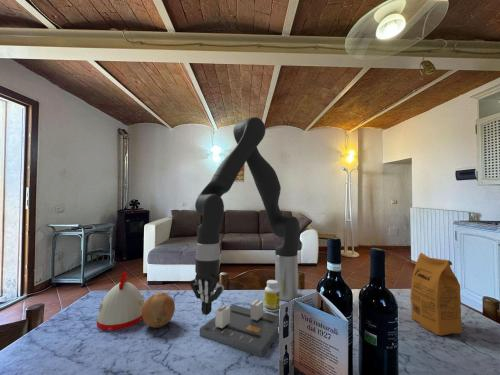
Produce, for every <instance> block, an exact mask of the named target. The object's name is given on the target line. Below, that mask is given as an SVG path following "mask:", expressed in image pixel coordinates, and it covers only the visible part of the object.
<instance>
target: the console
mask: <svg viewBox="0 0 500 375" xmlns="http://www.w3.org/2000/svg"><path fill="white" fill-rule="evenodd" d="M229 307H230V322H229V323H228V324H227V325H226V326H225V327H223V328H219V327H216V326H215V317H213V318H212V319H210V320H209V321H208V322H206V323H205V324H203V325H202V326H201V327H200V328H199V336H200V337H203V338H206V339H209V340H212V341H214V342H217V343H220V344H223V345H225V346H229V347H230V348H233V349H237V350H240V351H242V352H246V353H248V354H251V355H252V356H253V355H254V356H257V357H260V358H262V357H263V356H264V355H265V354H266V352H267V351H268V349H269V348H270V347H271V345H272V344H273V342H274V341H275V339H276V338H277V337H278V336H279V334H278V327H279V316H280V315H275V314H272V313H267V312H265V311H263V316H262V317H261V318H260V319H259V320H254V319H251V308H247V307H244V306H240V305H236V304H232V305H230V306H229Z"/></svg>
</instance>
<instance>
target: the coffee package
mask: <svg viewBox="0 0 500 375" xmlns="http://www.w3.org/2000/svg"><path fill="white" fill-rule="evenodd" d="M452 265H453V263H452V261H451V260H450V259H449V260H448V259H441V258H434V257H430V256H428V255H426V254H425V253H423V252H420V253H419V254H418V258H417V260H416V262H415V267H414V269H413V273H412V277H411V287H410V303H411V304H410V305H411V307H410V308H411V320H413V321H414V322H417V323H419V325H420V326H421V327H422V328H423V329H425V330H427V331H429V332H431V333H433V334H435V335H438V336H445V335H450V334H454V335H455V334H460V333H463V327H462V308H461V306H462V305H461V304H462V299H461V298H462V297H461V284H460V283H459V281H458V279H457V276H456V275H455V273H454V271H453V270H452V267H451V266H452Z"/></svg>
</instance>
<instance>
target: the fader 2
mask: <svg viewBox="0 0 500 375" xmlns="http://www.w3.org/2000/svg"><path fill="white" fill-rule="evenodd" d="M250 309H251V319H254V320H259V319H260V318H261V317H262V316H263V312H264V300H260V299H255V300H254V301H252V302H251V303H250Z"/></svg>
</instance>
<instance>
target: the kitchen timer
mask: <svg viewBox="0 0 500 375" xmlns="http://www.w3.org/2000/svg"><path fill="white" fill-rule="evenodd" d="M144 303H145V298H144V292H142V293H141V292H140V291H139V289H138V288H137V287H136V286H135V285H134V284H133V283H131V282H128V272H127V270H126V271H123V272H122V273H121V275H120V279H119V282H118V283H117V284H115V285H114V286H113V287H112V288H111V289H110V290H108V292H107V294H106V295H105V296H104V297H103V298H102V299H101V302H100V303H99V306H98V313H97V317H96V326H97V328H98V329H100V330H103V331H117V330H122V329H126V328H130V327H133V326H134V325H137V324H138V323H140V322H141V321H142V320H143V318H142V308H143V305H144Z"/></svg>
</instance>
